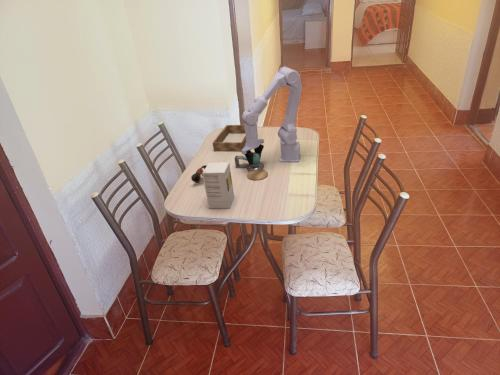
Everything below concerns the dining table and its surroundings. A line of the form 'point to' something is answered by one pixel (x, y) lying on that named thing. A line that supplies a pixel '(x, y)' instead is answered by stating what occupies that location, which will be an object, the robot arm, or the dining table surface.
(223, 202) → the supplement box
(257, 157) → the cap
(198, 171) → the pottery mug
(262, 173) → the coaster
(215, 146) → the tray
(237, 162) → the dark grey handled bowl
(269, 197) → the dining table surface
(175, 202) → the dining table surface
